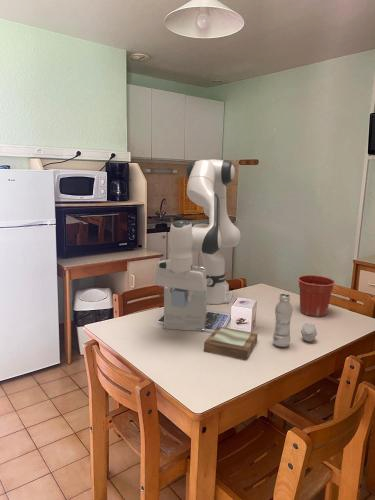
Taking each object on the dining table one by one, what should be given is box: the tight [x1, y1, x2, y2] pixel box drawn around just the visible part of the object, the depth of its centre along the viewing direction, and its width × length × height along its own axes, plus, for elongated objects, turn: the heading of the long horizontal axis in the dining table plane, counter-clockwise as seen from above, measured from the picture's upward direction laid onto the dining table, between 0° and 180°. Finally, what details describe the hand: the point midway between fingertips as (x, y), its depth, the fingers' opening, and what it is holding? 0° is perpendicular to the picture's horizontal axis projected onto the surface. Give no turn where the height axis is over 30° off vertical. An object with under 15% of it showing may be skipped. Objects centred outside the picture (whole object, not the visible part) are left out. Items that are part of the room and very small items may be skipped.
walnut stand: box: [203, 326, 259, 361], centre depth 142 cm, size 16×16×4 cm
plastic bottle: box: [272, 293, 294, 348], centre depth 142 cm, size 6×7×20 cm
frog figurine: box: [300, 322, 318, 342], centre depth 148 cm, size 6×7×7 cm
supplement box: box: [163, 286, 207, 332], centre depth 161 cm, size 17×13×18 cm
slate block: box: [172, 288, 189, 308], centre depth 144 cm, size 5×5×6 cm
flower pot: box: [297, 274, 336, 318], centre depth 177 cm, size 16×16×16 cm
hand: (180, 299), depth 144 cm, fingers closed on slate block, 5 cm apart
